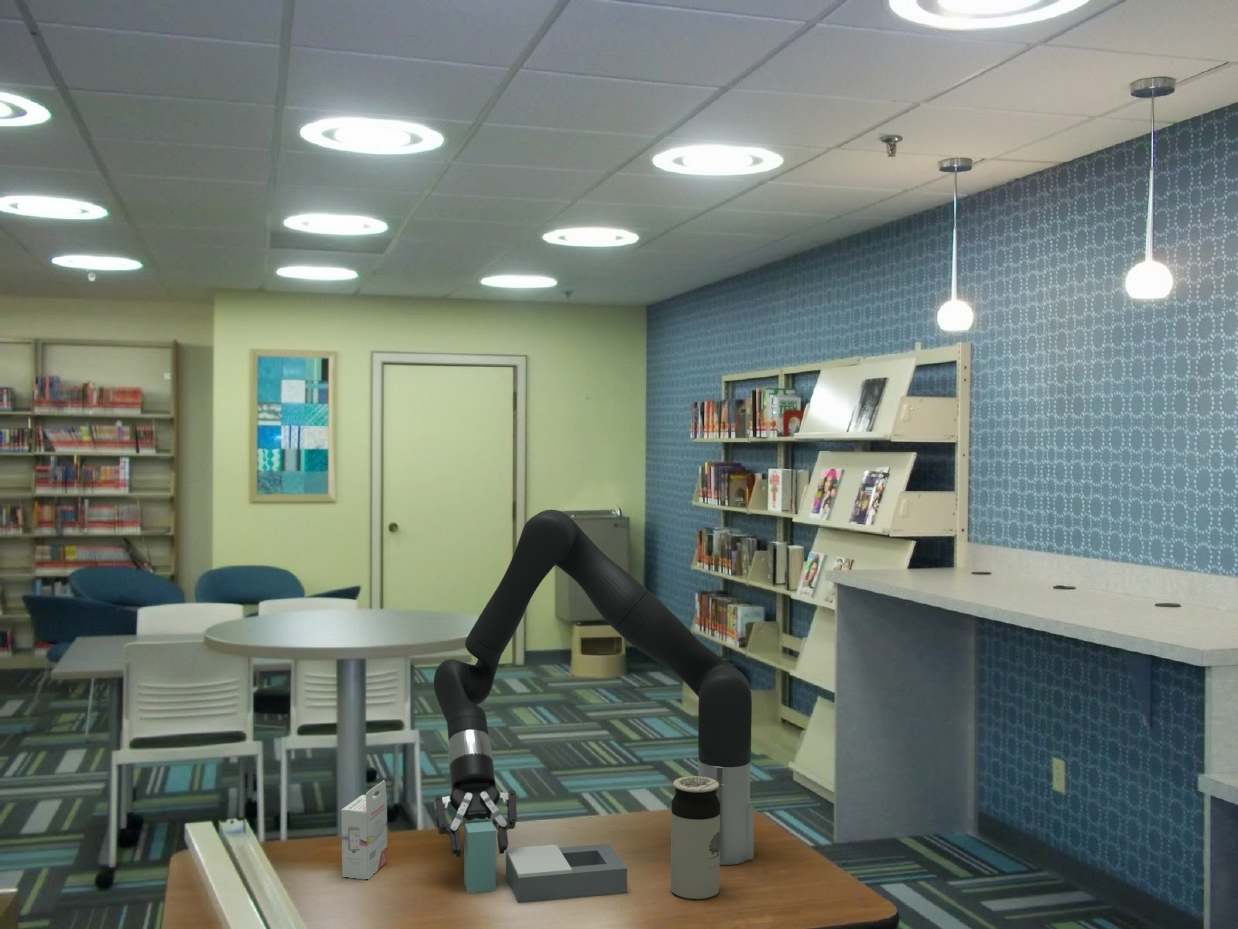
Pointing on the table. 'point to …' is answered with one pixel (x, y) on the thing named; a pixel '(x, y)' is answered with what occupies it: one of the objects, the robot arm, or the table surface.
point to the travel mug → (695, 838)
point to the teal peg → (480, 857)
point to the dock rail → (564, 872)
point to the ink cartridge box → (365, 834)
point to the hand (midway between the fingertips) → (480, 853)
